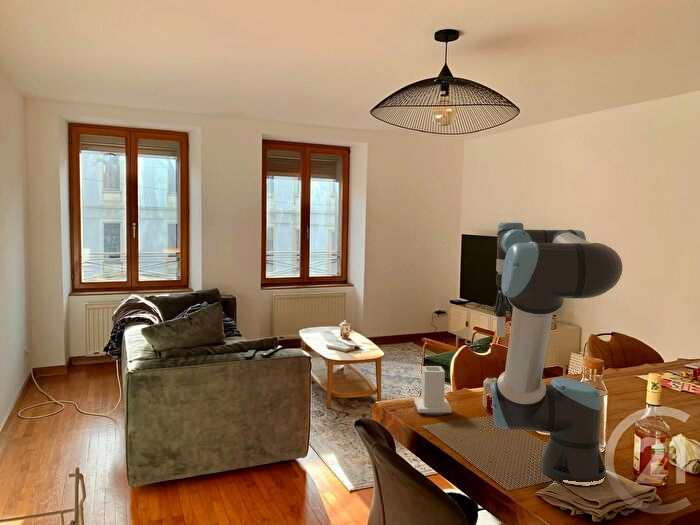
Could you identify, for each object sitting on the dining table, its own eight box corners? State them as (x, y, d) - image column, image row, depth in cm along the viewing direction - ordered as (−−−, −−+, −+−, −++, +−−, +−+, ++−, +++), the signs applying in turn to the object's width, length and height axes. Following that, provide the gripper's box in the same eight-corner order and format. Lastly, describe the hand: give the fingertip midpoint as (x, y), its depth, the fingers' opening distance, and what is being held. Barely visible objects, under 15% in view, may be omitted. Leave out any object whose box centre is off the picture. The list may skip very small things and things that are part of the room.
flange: (452, 412, 173) (452, 373, 172) (418, 412, 173) (419, 373, 172) (445, 401, 184) (446, 364, 183) (413, 401, 184) (414, 364, 183)
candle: (497, 403, 185) (498, 375, 184) (500, 409, 179) (501, 380, 178) (481, 403, 185) (482, 375, 184) (484, 408, 180) (484, 380, 179)
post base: (453, 415, 173) (454, 392, 172) (416, 416, 173) (417, 392, 172) (446, 403, 185) (446, 380, 184) (411, 403, 185) (412, 380, 184)
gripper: (536, 277, 148) (534, 352, 150) (508, 269, 173) (506, 333, 175) (510, 277, 148) (507, 352, 150) (485, 269, 173) (483, 333, 174)
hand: (507, 342), depth 162 cm, fingers open, 13 cm apart
